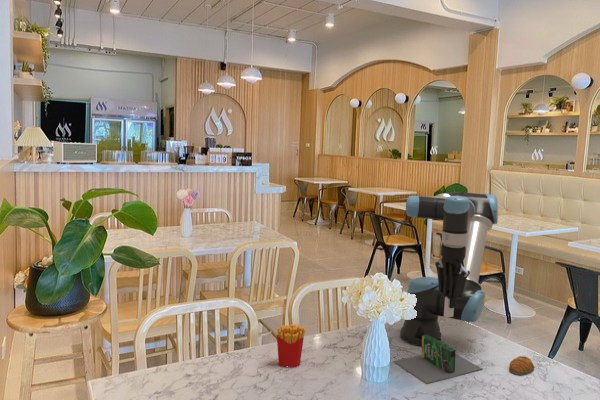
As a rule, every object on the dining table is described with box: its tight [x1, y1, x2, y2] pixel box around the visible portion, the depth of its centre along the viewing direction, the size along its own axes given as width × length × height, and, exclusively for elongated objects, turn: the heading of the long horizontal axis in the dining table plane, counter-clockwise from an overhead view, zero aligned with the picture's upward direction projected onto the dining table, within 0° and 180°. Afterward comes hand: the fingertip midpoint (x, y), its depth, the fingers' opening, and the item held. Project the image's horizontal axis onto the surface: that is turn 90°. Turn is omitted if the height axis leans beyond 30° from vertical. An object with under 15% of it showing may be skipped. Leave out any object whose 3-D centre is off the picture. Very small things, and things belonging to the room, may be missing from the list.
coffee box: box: [421, 335, 457, 373], centre depth 156 cm, size 8×3×13 cm
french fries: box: [276, 323, 306, 368], centre depth 153 cm, size 9×4×13 cm, turn 92°
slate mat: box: [393, 353, 484, 385], centre depth 157 cm, size 16×24×1 cm, turn 117°
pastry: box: [508, 355, 536, 376], centre depth 156 cm, size 9×7×4 cm
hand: (448, 316), depth 152 cm, fingers closed
